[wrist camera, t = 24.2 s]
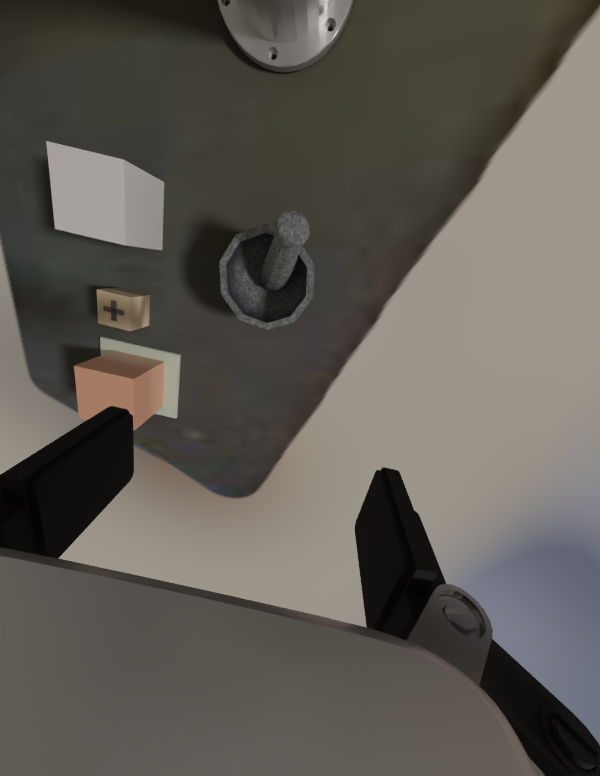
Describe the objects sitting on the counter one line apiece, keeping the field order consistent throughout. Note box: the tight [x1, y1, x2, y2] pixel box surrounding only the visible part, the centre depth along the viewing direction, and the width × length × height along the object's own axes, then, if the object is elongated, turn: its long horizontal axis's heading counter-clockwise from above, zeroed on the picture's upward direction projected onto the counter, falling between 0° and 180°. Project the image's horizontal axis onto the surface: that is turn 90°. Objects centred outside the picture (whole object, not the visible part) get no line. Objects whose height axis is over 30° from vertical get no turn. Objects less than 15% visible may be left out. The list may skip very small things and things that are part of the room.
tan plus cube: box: [97, 288, 150, 331], centre depth 36 cm, size 4×4×4 cm
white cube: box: [46, 141, 164, 250], centre depth 30 cm, size 7×7×7 cm
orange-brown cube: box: [74, 350, 165, 430], centre depth 38 cm, size 7×7×7 cm
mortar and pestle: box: [219, 211, 315, 330], centre depth 29 cm, size 11×9×12 cm
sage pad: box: [100, 336, 181, 418], centre depth 41 cm, size 10×11×1 cm
